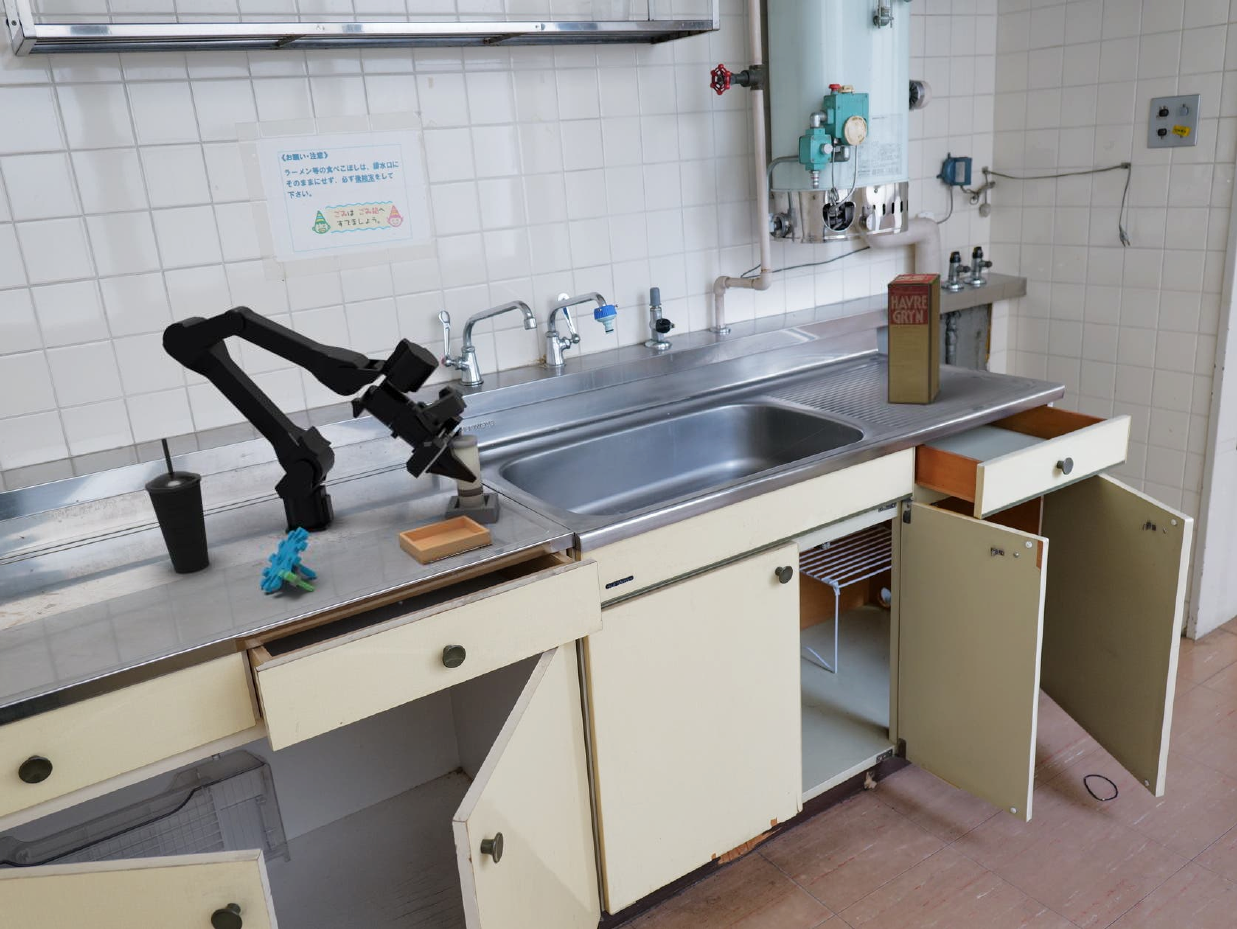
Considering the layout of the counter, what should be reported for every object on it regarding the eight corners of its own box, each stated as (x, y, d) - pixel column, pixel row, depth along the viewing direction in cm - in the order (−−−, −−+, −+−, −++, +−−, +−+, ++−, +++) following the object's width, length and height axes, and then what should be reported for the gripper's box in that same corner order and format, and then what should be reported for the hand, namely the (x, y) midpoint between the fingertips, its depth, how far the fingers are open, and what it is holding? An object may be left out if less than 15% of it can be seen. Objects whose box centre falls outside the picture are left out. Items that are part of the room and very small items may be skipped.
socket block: (447, 526, 157) (445, 511, 156) (453, 510, 164) (451, 495, 163) (495, 522, 157) (493, 507, 156) (499, 506, 164) (497, 492, 163)
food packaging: (896, 388, 218) (897, 273, 211) (941, 389, 214) (943, 272, 207) (885, 403, 207) (886, 282, 199) (932, 405, 203) (934, 282, 195)
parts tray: (422, 565, 143) (420, 550, 142) (399, 547, 150) (397, 533, 149) (491, 544, 148) (489, 531, 147) (466, 528, 155) (464, 515, 155)
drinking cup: (185, 581, 144) (155, 449, 138) (153, 572, 148) (123, 444, 142) (230, 561, 150) (203, 434, 144) (198, 553, 154) (171, 429, 148)
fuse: (459, 521, 158) (448, 443, 154) (462, 512, 162) (451, 435, 158) (485, 518, 158) (475, 440, 154) (487, 509, 162) (478, 433, 158)
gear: (255, 565, 143) (298, 513, 142) (290, 584, 146) (332, 533, 145) (257, 604, 133) (303, 549, 133) (294, 624, 136) (339, 570, 136)
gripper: (416, 390, 145) (500, 457, 147) (443, 363, 162) (517, 424, 165) (371, 445, 148) (454, 510, 150) (402, 412, 165) (475, 471, 168)
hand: (477, 476), depth 158 cm, fingers closed on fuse, 4 cm apart
